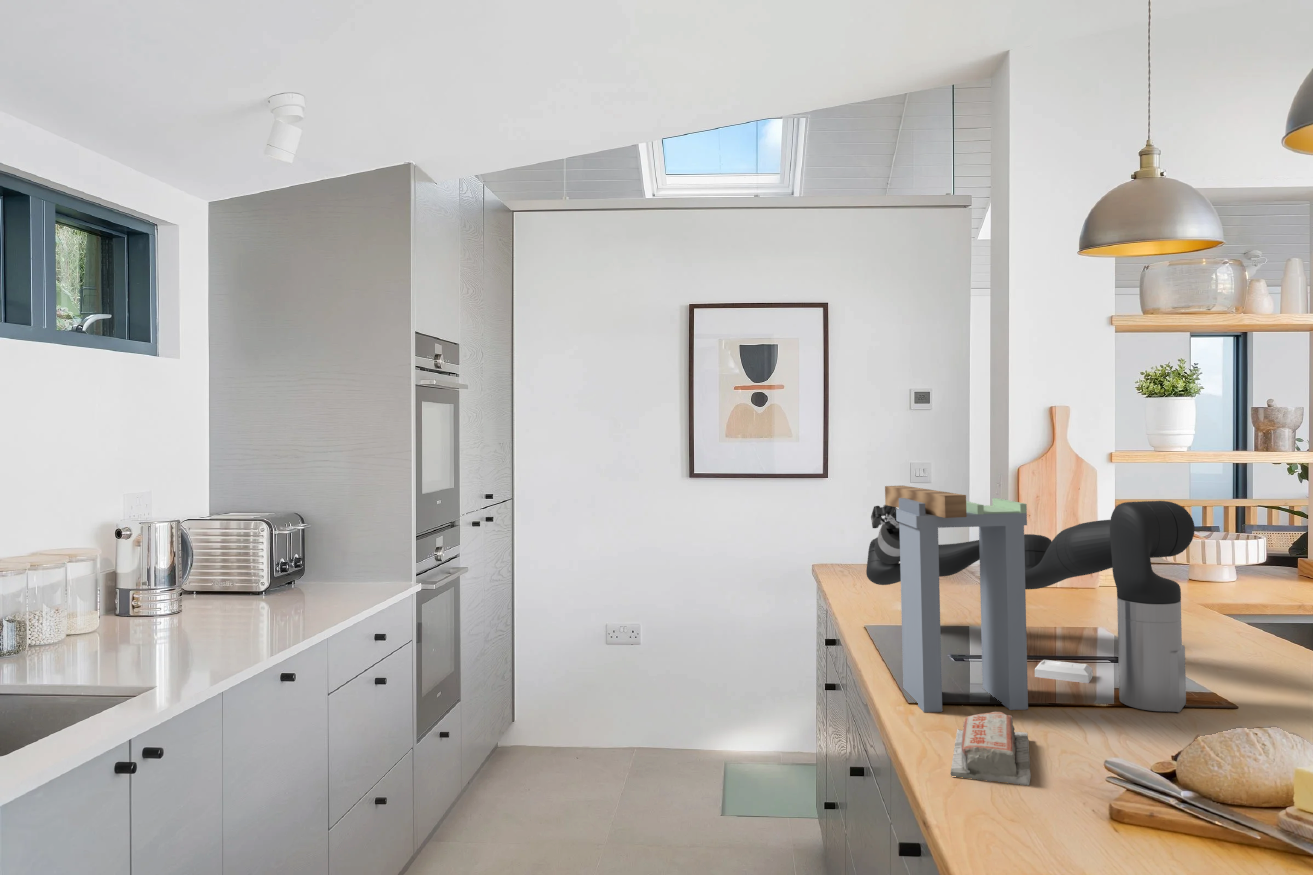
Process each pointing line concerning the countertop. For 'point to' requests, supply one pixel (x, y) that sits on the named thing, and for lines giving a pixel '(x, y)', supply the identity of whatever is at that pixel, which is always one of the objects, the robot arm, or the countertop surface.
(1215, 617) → the countertop surface
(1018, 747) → the packaged product
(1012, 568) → the bridge
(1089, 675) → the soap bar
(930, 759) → the countertop surface
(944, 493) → the wooden square beam
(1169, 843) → the countertop surface
